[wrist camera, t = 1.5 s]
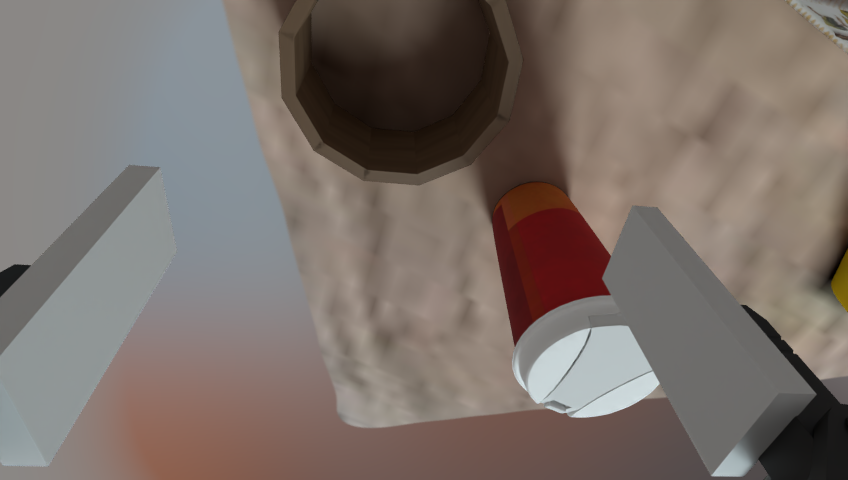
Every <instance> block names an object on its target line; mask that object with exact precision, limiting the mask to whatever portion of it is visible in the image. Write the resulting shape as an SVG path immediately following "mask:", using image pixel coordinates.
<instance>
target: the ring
mask: <svg viewBox="0 0 848 480" xmlns="http://www.w3.org/2000/svg"><path fill="white" fill-rule="evenodd" d="M317 1H318V0H296V2H295V3H294V5H293V7H292V9H291V11H290V13H289V14H288V16H287V18H286V20H285V22H284V23H283V25H282V27H281V29H280V31H279V48H280V70H281V93H282V99H283V101H284V103H285V104H286V106H287V107H288V109H289V111H290V112H291V114H292V116H293V117H294V119H295V121H296V122H297V124H298V125H299V127H300V129H301V130H302V132H303V134H304V135H305V137H306V139H307V140H308V142H309V143H310V145H311V147H312V148H313V150H314V151H315V152H317V153H319V154H320V155H322V156H324V157H325V158H327V159H328V160H330V161H332V162H333V163H335V164H337V165H338V166H340V167H342V168H343V169H345V170H347V171H348V172H350V173H352V174H353V175H355V176H356V177H358V178H360V179H361V180H363V181H373V182H385V183H397V184H409V185H421V184H424V183H426V182H429V181H431V180H434V179H436V178H439V177H441V176H444V175H446V174H449V173H451V172H454V171H456V170H459V169H461V168H464V167H466V166H469V165H471V164H472V163H473V162H474V161H475V159H476V158H477V157H478V156H479V155H480V154H481V153H482V151H483V150H484V149H485V148H486V147H487V146H488V145H489V143H490V142H491V141H492V140H493V139H494V138H495V137H496V135H497V134H498V133H499V132H500V131H501V130H502V129H503V127H504V126H505V125H506V124H507V123H508V122H509V120H510V116H511V111H512V107H513V103H514V98H515V94H516V90H517V85H518V81H519V77H520V72H521V68H522V64H523V57H522V53H521V50H520V47H519V43H518V40H517V37H516V33H515V30H514V27H513V23H512V20H511V17H510V13H509V10H508V6H507V3H506V0H479V2H480V6H481V9H482V12H483V15H484V18H485V21H486V24H487V27H488V30H489V33H490V35H489V40H488V46H487V51H486V56H485V62H484V67H483V72H482V78H481V81H480V82H479V84H478V85H477V86H476V87H475V89H474V90H473V91H472V92H471V94H470V95H469V96H468V97H467V99H466V100H465V101H464V102H463V104H462V105H461V106H460V107H459V109H458V110H457V111H456V112H455V114H454V115H453V116H450V117H448V118H446V119H443V120H441V121H439V122H436V123H434V124H432V125H429V126H427V127H424V128H422V129H420V130H417V131H415V132H408V131H397V130H387V129H376V128H371V127H369V126H368V125H366V124H364V123H363V122H361V121H360V120H358V119H357V118H355V117H354V116H352V115H351V114H349V113H348V112H346V111H345V110H343V109H342V108H340V107H339V106H337V105H336V104H334V102H333V100H332V98H331V97H330V95H329V93H328V91H327V89H326V87H325V86H324V84H323V82H322V80H321V78H320V77H319V75H318V73H317V71H316V69H315V68H314V66H313V64H312V47H311V12H312V10H313V8H314V7H315V5H316V3H317Z"/></svg>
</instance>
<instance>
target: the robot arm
mask: <svg viewBox="0 0 848 480" xmlns="http://www.w3.org/2000/svg"><path fill="white" fill-rule="evenodd" d="M176 253H177V249H176V244H175V239H174V234H173V229H172V224H171V219H170V214H169V210H168V204H167V199H166V194H165V189H164V184H163V179H162V174H161V169H160V167H148V166H135V165H129V166H128V167H127V168H126V169H125V170H124V171H123V172H122V173H121V174H120V175H119V176H118V177H117V178H116V179H115V180H114V181H113V182H112V183H111V184H110V185H109V186H108V187H107V188H106V189H105V190H104V191H103V192H102V193H101V194H100V196H98V198H97V199H96V200H95V201H94V202H93V203H92V204H91V205H90V206H89V207H88V208H87V209H86V210H85V211H84V212H83V213H82V214H81V215H80V216H79V217H78V218H77V219H76V220H75V221H74V222H73V223H72V224H71V225H70V226H69V227H68V228H67V229H66V230H65V231H64V232H63V234H61V236H60V237H59V238H58V239H57V240H56V241H55V242H54V243H53V244H52V245H51V246H50V247H49V248H48V249H47V250H46V251H45V252H44V253H43V254H42V255H41V256H40V257H39V258H38V259H37V260H36V261H35V262H34V263H33V264H32V265H13V266H11V267H9V268H7V269H6V270H4V271H2V272H0V462H1V463H2V465H3V466H49V464H50V463H51V461H52V459H53V458H54V456H55V454H56V453H57V451H58V449H59V448H60V446H61V445H62V443H63V441H64V439H65V438H66V436H67V435H68V433H69V431H70V430H71V428H72V426H73V425H74V423H75V421H76V420H77V418H78V416H79V415H80V413H81V411H82V410H83V408H84V406H85V404H86V403H87V401H88V400H89V398H90V396H91V395H92V393H93V391H94V390H95V388H96V386H97V385H98V383H99V381H100V380H101V378H102V376H103V374H104V373H105V371H106V370H107V368H108V366H109V365H110V363H111V361H112V360H113V358H114V356H115V355H116V353H117V351H118V350H119V348H120V346H121V344H122V343H123V341H124V340H125V338H126V336H127V335H128V333H129V331H130V330H131V328H132V326H133V325H134V323H135V321H136V320H137V318H138V316H139V315H140V313H141V311H142V310H143V308H144V306H145V305H146V303H147V301H148V300H149V298H150V296H151V295H152V293H153V291H154V290H155V288H156V286H157V285H158V283H159V281H160V280H161V278H162V276H163V275H164V273H165V271H166V270H167V268H168V266H169V265H170V263H171V261H172V260H173V258H174V256H175V255H176ZM602 279H603V281H604V283H605V285H606V287H607V288H608V290H609V292H610V294H611V296H612V298H613V299H614V301H615V303H616V305H617V307H618V308H619V310H620V312H621V314H622V316H623V317H624V319H625V321H626V323H627V325H628V327H629V328H630V330H631V332H632V334H633V336H634V337H635V339H636V341H637V343H638V345H639V346H640V348H641V350H642V352H643V354H644V356H645V357H646V359H647V361H648V363H649V365H650V366H651V368H652V370H653V372H654V374H655V375H656V377H657V379H658V381H659V383H660V385H661V386H662V388H663V390H664V392H665V394H666V395H667V397H668V399H669V401H670V403H671V404H672V406H673V408H674V410H675V412H676V414H677V415H678V417H679V418H680V421H681V423H682V424H683V426H684V428H685V430H686V431H687V433H688V435H689V437H690V439H691V441H692V443H693V444H694V446H695V448H696V450H697V452H698V453H699V455H700V457H701V459H702V461H703V462H704V464H705V466H706V468H707V470H708V472H709V473H710V475H711V476H742V477H743V476H745V475H746V474H747V472H748V471H749V470H750V469H751V468H752V467H753V466H754V465H755V463H756V462H757V461H758V460H759V461H760V462H761V464H762V465H763V467H764V468H765V470H766V471H767V473H768V475H767V476H766V478H765V479H764V480H848V405H845V404H840V403H839V402H838V400H837V399H836V398H835V397H834V396H833V395H832V394H831V392H830V391H829V390H828V389H827V388H826V387H825V386H824V385H823V383H822V382H821V381H820V380H819V379H818V378H817V377H816V376H815V374H814V373H813V372H812V371H811V370H810V369H809V368H808V366H807V365H806V364H805V363H804V362H803V361H802V360H801V359H800V357H799V356H798V355H797V354H793V350H792V348H791V347H790V346H789V345H788V344H787V343H786V342H785V341H784V340H781V336H780V335H779V334H778V333H777V331H776V330H775V329H774V328H773V327H772V326H771V325H770V324H769V322H768V321H767V320H766V319H764V318H763V317H761V316H760V315H759V314H757V313H756V312H755V311H753V310H752V309H751V308H749V307H748V306H746V305H740V304H739V303H738V302H737V300H736V299H735V298H734V297H733V296H732V295H731V293H730V292H729V291H728V290H727V289H726V288H725V286H724V285H723V284H722V283H721V282H720V280H719V279H718V278H717V277H716V276H715V275H714V273H713V272H712V271H711V270H710V269H709V268H708V266H707V265H706V264H705V263H704V262H703V261H702V259H701V258H700V257H699V256H698V255H697V254H696V252H695V251H694V250H693V249H692V248H691V247H690V245H689V244H688V243H687V242H686V241H685V240H684V238H683V237H682V236H681V235H680V234H679V233H678V231H677V230H676V229H675V228H674V227H673V225H672V224H671V223H670V222H669V221H668V220H667V218H666V217H665V216H664V215H663V214H662V213H661V211H660V210H659V209H658V208H657V207H645V206H632V208H631V210H630V213H629V215H628V218H627V220H626V222H625V225H624V227H623V230H622V232H621V234H620V237H619V239H618V241H617V244H616V246H615V249H614V251H613V253H612V256H611V258H610V261H609V263H608V265H607V268H606V270H605V273H604V275H603V277H602Z"/></svg>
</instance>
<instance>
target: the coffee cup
mask: <svg viewBox="0 0 848 480" xmlns="http://www.w3.org/2000/svg"><path fill="white" fill-rule="evenodd" d="M492 224H493V233H494V239H495V245H496V250H497V256H498V261H499V267H500V272H501V277H502V283H503V288H504V293H505V298H506V304H507V309H508V314H509V319H510V325H511V330H512V335H513V340H514V345H515V349H514V352H513V357H512V368H513V371H514V375H515V377H516V379H517V380H518V382H519V383H520V384H521V386H522V387H523V388H524V389H525V390H526V391H528V393H529V394H530V396H531V398H532V399H533V400H534V401H535V402H536V403H537V404H539V403H540V402H541V403H544V404H545V405H544V407H546V408H549V409H551V410H554V411H556V412H559V413H565V412H566V413H567V414H568V416H570V417H594V416H600V415H605V414H609V413H613V412H616V411H619V410H621V409H624V408H626V407H629V406H631V405H633V404H634V403H636V402H638V401H640V400H641V399H643V398H644V397H646V396H647V395H648V394H649V393H651V392H652V391H653V390H654V389H655V388H656V387H657V386H658V385H659V384H660V383H659V381H658V379H657V377H656V375H655V374H654V372H653V370H652V368H651V366H650V365H649V363H648V361H647V359H646V357H645V356H644V354H643V352H642V350H641V348H640V346H639V345H638V343H637V341H636V339H635V337H634V336H633V334H632V332H631V330H630V328H629V327H628V325H627V323H626V321H625V319H624V317H623V316H622V314H621V312H620V310H619V308H618V307H617V305H616V303H615V301H614V299H613V298H612V296H611V294H610V292H609V290H608V288H607V287H606V285H605V283H604V281H603V279H602V277H603V275H604V273H605V270H606V268H607V265H608V263H609V261H610V258H611V256H610V254H609V253H608V251H607V250H606V249H605V247H604V246H603V244H602V243H601V242H600V240H599V239H598V237H597V236H596V235H595V233H594V232H593V230H592V229H591V228H590V226H589V225H588V223H587V222H586V221H585V219H584V218H583V217H582V215H581V214H580V212H579V211H578V210H577V208H576V207H575V206H574V204H573V203H572V202H571V201H570V199H569V198H568V197H567V196H566V195H565V193H564V192H563V191H561V190H560V189H559V188H558V187H556V186H554V185H552V184H549V183H544V182H530V183H525V184H522V185H519V186H517V187H515V188H513V189H511V190H510V191H508V192H507V193H506V194H505V195H504V196H503V197H502V198H501V199H500V200H499V202H498V203H497V205H496V207H495V209H494V212H493V219H492Z"/></svg>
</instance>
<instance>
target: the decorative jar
mask: <svg viewBox="0 0 848 480" xmlns="http://www.w3.org/2000/svg"><path fill="white" fill-rule="evenodd" d="M785 1H786V2H787V3H788V4H789V5H790V6H792V8H794V9H795V10H796V11H797V12H798V13H799V14H801V15H802V16H803V17H804V18H805V19H806V20H807V21H809V22H810V23H811V24H812V25H814V27H815V28H817V29H818V30H819V31H821V32H822V33H823V34H824V35H826V36H827V37H828V38H829V39H830V40H831V41H832V42H834V43H835V44H836V45H837V46H838V47H839V48H841V49H842V50H843V51H844V52H846V53H847V54H848V0H785Z"/></svg>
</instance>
